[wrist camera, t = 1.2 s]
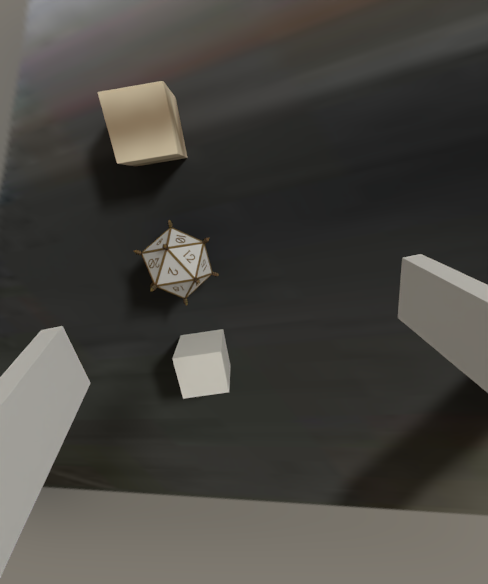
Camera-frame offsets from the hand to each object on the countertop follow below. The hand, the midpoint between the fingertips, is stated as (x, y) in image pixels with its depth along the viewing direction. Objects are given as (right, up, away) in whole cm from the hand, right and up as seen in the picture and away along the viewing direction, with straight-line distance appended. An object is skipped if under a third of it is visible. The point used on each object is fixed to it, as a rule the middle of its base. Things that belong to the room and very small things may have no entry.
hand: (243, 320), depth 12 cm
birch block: (-10, +19, +22) cm, 31 cm away
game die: (-8, +6, +27) cm, 29 cm away
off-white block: (-5, -7, +32) cm, 33 cm away
